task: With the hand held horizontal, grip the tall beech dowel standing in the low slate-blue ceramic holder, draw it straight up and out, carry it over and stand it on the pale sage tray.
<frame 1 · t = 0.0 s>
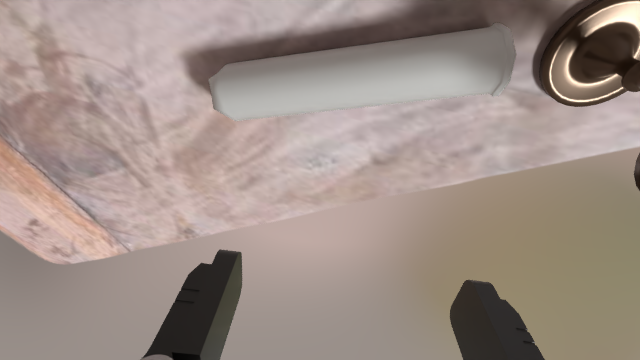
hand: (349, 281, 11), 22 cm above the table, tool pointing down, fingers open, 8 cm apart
candlestick: (597, 52, 26), on the table
tube: (346, 68, 29), on the table
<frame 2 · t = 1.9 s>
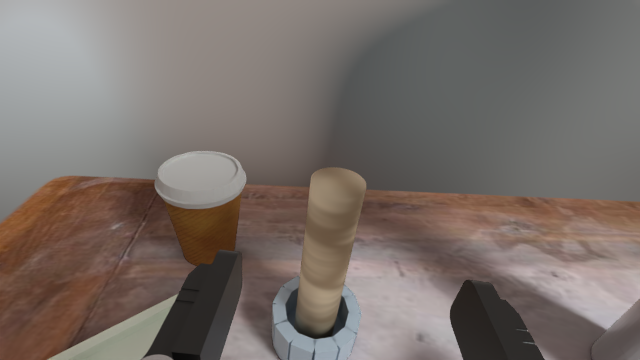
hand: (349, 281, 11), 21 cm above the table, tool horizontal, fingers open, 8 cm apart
holder: (312, 332, 32), on the table
dowel: (313, 329, 32), point 1 cm above the table, touching holder
disposable coffee cup: (209, 249, 40), on the table
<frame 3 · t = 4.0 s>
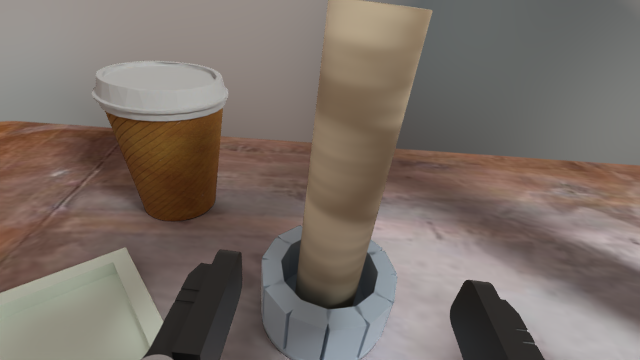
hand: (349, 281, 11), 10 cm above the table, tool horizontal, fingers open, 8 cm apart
holder: (322, 306, 22), on the table
dowel: (323, 301, 21), point 1 cm above the table, touching holder
disposable coffee cup: (181, 202, 30), on the table
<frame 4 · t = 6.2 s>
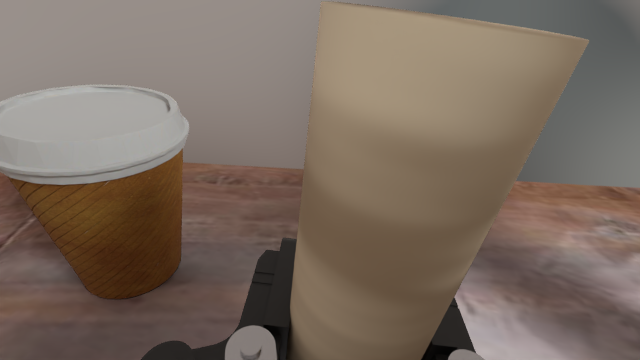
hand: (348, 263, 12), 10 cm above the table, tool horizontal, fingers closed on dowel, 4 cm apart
disposable coffee cup: (135, 265, 23), on the table
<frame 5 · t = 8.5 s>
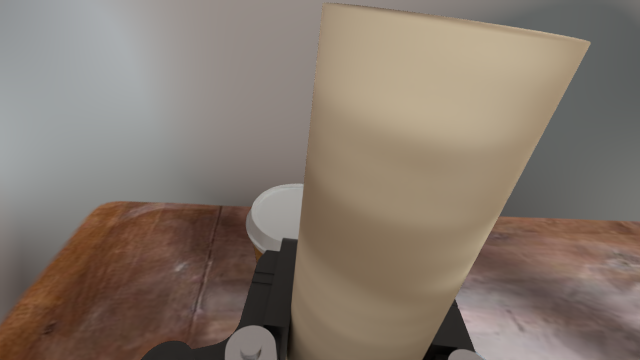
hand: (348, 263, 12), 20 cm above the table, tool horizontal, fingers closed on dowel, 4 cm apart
disposable coffee cup: (292, 297, 34), on the table
when the fingers open (12 cm above the table, at t = 10.7 s): dowel drops 1 cm, resting on tray.
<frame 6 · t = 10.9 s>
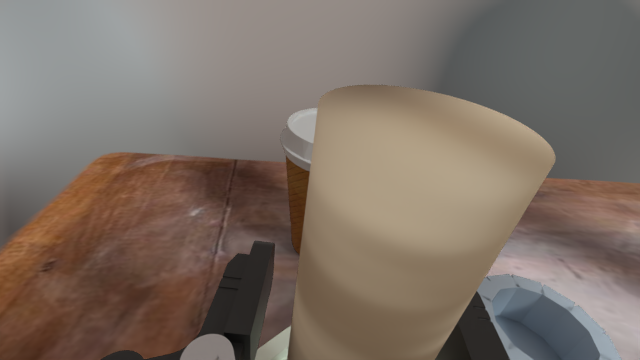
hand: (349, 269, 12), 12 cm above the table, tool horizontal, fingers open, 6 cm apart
holder: (515, 359, 22), on the table
disposable coffee cup: (323, 242, 30), on the table
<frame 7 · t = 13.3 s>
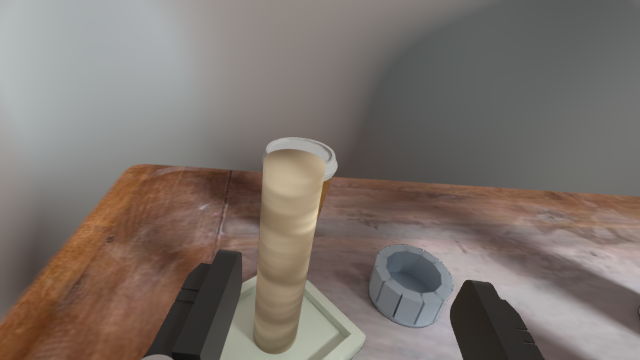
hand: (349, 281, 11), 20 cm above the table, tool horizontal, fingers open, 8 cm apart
holder: (403, 295, 36), on the table
dowel: (275, 333, 29), point 1 cm above the table, touching tray
disposable coffee cup: (292, 228, 44), on the table
tray: (274, 338, 29), on the table
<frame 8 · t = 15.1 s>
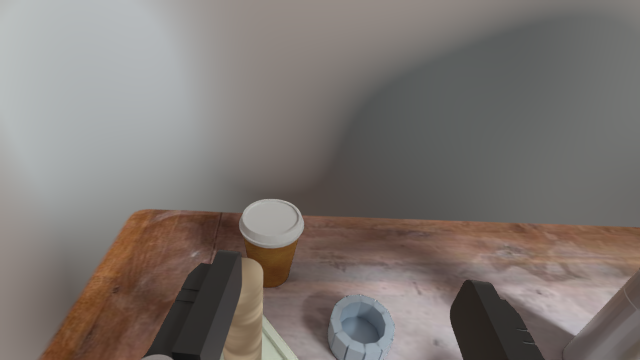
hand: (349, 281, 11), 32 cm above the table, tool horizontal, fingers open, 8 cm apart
holder: (357, 338, 43), on the table
disposable coffee cup: (269, 273, 51), on the table
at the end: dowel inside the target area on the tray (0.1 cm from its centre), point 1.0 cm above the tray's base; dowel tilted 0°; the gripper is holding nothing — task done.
